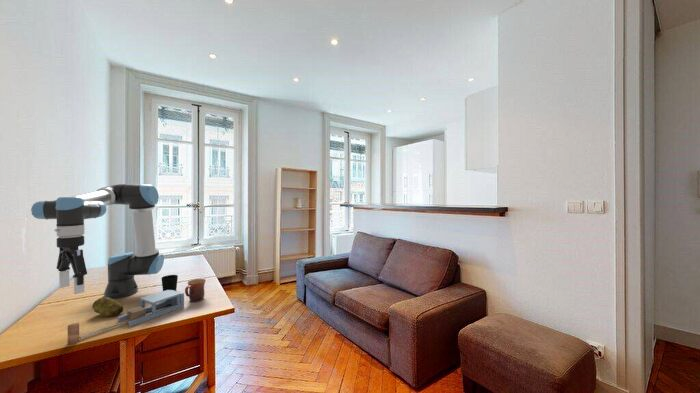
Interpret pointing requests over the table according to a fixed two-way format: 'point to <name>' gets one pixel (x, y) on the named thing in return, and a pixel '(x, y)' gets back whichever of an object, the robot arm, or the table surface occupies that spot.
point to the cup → (169, 282)
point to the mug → (195, 289)
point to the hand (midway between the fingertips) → (71, 290)
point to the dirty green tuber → (107, 307)
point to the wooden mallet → (74, 328)
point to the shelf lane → (157, 305)
